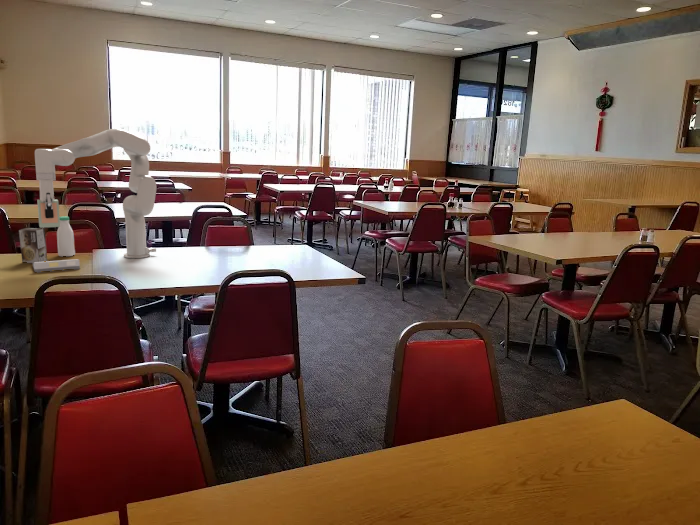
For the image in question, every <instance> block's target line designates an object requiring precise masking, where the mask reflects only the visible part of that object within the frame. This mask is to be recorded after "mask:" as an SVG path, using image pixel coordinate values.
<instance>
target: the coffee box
mask: <svg viewBox="0 0 700 525" xmlns="http://www.w3.org/2000/svg"><path fill="white" fill-rule="evenodd" d="M45 229H46V228H40V227H38V228H37V227H35V228H34V227H26V228H21V229H19V230H18V234H19V242H20V243H19V245H20V253H21V262H27V263H26V264H33V263H34V262H44V261H48V254H47V253H48V252H47V243H46V231H45Z"/></svg>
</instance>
